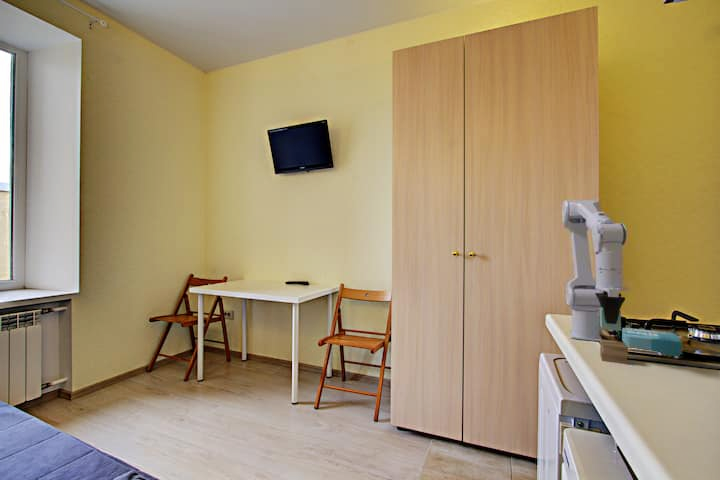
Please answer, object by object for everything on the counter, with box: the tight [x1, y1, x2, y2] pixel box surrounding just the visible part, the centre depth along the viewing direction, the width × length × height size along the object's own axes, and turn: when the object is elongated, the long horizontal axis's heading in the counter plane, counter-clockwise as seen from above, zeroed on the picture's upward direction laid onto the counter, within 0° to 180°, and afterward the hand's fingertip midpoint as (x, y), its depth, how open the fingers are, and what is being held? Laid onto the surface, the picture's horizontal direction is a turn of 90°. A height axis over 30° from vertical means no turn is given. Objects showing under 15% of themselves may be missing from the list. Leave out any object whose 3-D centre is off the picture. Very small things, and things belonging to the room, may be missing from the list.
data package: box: [621, 327, 683, 356], centre depth 97 cm, size 12×4×12 cm
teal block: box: [599, 307, 622, 332], centre depth 91 cm, size 4×4×5 cm
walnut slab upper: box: [599, 339, 629, 357], centre depth 89 cm, size 5×5×2 cm
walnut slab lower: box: [599, 348, 628, 365], centre depth 89 cm, size 5×5×2 cm
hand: (609, 321), depth 91 cm, fingers closed on teal block, 4 cm apart
